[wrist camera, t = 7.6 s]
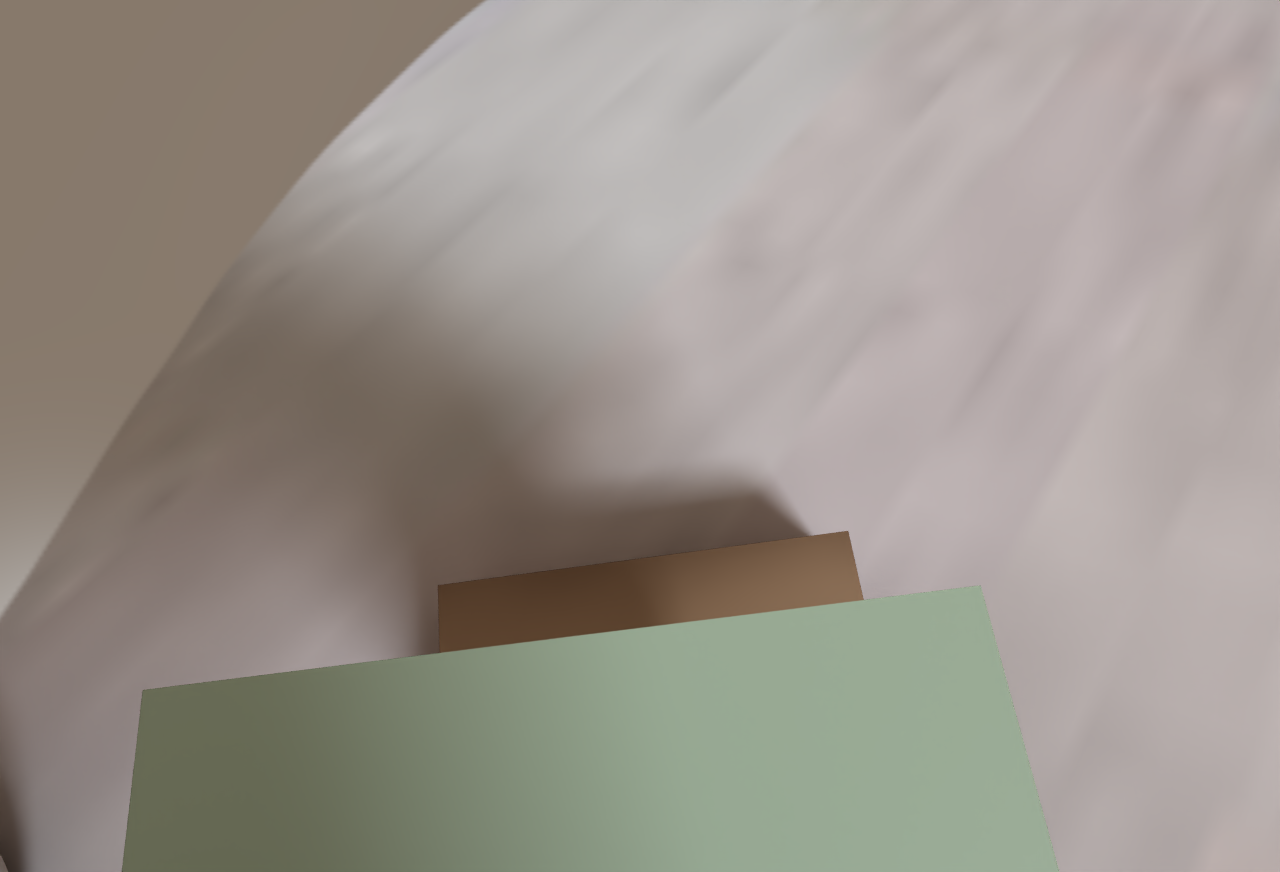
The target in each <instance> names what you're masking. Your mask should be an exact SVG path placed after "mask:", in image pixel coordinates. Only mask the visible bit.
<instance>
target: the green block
mask: <svg viewBox="0 0 1280 872" xmlns="http://www.w3.org/2000/svg"><path fill="white" fill-rule="evenodd" d="M122 872H1059V869H1058V865H1057V862H1056V858H1055V854H1054V851H1053V847H1052V844H1051V840H1050V836H1049V833H1048V829H1047V825H1046V822H1045V818H1044V814H1043V811H1042V807H1041V804H1040V800H1039V796H1038V793H1037V789H1036V785H1035V782H1034V778H1033V775H1032V771H1031V767H1030V764H1029V760H1028V756H1027V753H1026V749H1025V745H1024V742H1023V738H1022V735H1021V731H1020V727H1019V724H1018V720H1017V716H1016V713H1015V709H1014V705H1013V702H1012V698H1011V695H1010V691H1009V687H1008V684H1007V680H1006V676H1005V673H1004V669H1003V666H1002V662H1001V658H1000V655H999V651H998V647H997V644H996V640H995V636H994V633H993V629H992V626H991V622H990V618H989V615H988V611H987V607H986V604H985V600H984V596H983V593H982V589H981V586H972V587H964V588H956V589H948V590H940V591H932V592H924V593H916V594H908V595H900V596H892V597H884V598H876V599H868V600H860V601H852V602H844V603H836V604H828V605H820V606H812V607H804V608H796V609H788V610H780V611H772V612H764V613H756V614H748V615H740V616H732V617H724V618H716V619H708V620H700V621H692V622H684V623H676V624H668V625H660V626H652V627H644V628H636V629H628V630H620V631H612V632H604V633H596V634H588V635H580V636H572V637H564V638H556V639H548V640H540V641H532V642H524V643H516V644H508V645H500V646H492V647H484V648H476V649H468V650H460V651H452V652H444V653H436V654H428V655H420V656H411V657H403V658H395V659H387V660H379V661H371V662H363V663H355V664H347V665H339V666H331V667H323V668H315V669H307V670H299V671H291V672H283V673H275V674H267V675H259V676H251V677H243V678H235V679H227V680H219V681H211V682H203V683H195V684H187V685H179V686H171V687H163V688H155V689H147V690H143V692H142V701H141V710H140V718H139V727H138V736H137V744H136V753H135V762H134V770H133V779H132V788H131V796H130V805H129V814H128V822H127V831H126V840H125V849H124V857H123V866H122Z"/></svg>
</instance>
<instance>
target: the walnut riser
mask: <svg viewBox="0 0 1280 872" xmlns="http://www.w3.org/2000/svg"><path fill="white" fill-rule="evenodd" d="M860 600H864V599H863V595H862V590H861V586H860V582H859V577H858V573H857V568H856V564H855V559H854V555H853V550H852V546H851V541H850V537H849V532H848V531H844V532H836V533H829V534H821V535H814V536H806V537H799V538H791V539H783V540H776V541H768V542H761V543H753V544H746V545H738V546H731V547H723V548H716V549H708V550H700V551H693V552H685V553H678V554H670V555H663V556H655V557H648V558H640V559H632V560H625V561H617V562H610V563H602V564H595V565H587V566H580V567H572V568H565V569H557V570H549V571H542V572H534V573H527V574H519V575H512V576H504V577H497V578H489V579H482V580H474V581H466V582H459V583H451V584H444V585H438V609H439V649H440V653H444V652H452V651H460V650H468V649H476V648H484V647H492V646H500V645H508V644H516V643H524V642H532V641H540V640H548V639H556V638H564V637H572V636H580V635H588V634H596V633H604V632H612V631H620V630H628V629H636V628H644V627H652V626H660V625H668V624H676V623H684V622H692V621H700V620H708V619H716V618H724V617H732V616H740V615H748V614H756V613H764V612H772V611H780V610H788V609H796V608H804V607H812V606H820V605H828V604H836V603H844V602H852V601H860Z"/></svg>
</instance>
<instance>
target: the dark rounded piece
mask: <svg viewBox="0 0 1280 872" xmlns="http://www.w3.org/2000/svg"><path fill="white" fill-rule="evenodd" d="M0 872H8V870H7V868H6V866H5V863H4V861H3V858H2V856H1V855H0Z"/></svg>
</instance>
